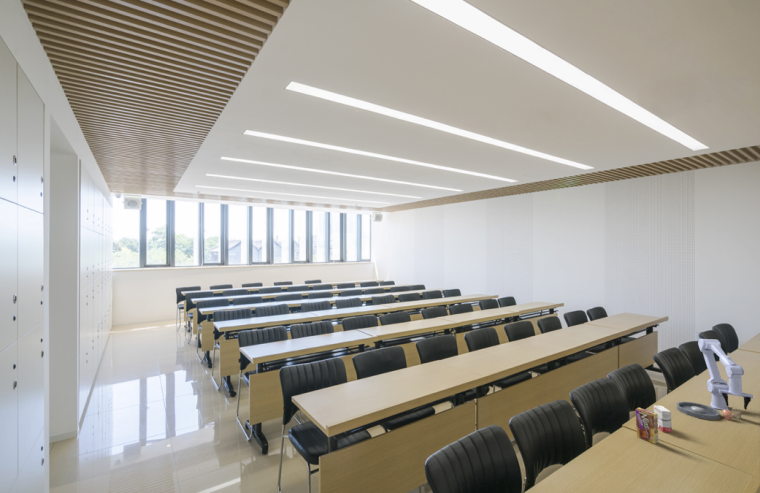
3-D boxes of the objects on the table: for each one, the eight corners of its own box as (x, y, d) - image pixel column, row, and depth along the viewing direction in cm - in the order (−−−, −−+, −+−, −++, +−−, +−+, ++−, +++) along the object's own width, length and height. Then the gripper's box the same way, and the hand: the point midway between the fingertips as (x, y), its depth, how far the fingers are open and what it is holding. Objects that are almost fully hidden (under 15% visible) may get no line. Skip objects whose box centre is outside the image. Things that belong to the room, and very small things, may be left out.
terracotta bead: (722, 416, 212) (722, 408, 212) (731, 418, 210) (731, 410, 210) (723, 419, 209) (723, 411, 209) (733, 421, 206) (732, 412, 207)
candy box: (659, 442, 184) (658, 413, 184) (654, 444, 182) (653, 415, 183) (640, 434, 192) (639, 407, 192) (636, 436, 190) (635, 408, 191)
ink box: (672, 432, 194) (671, 411, 194) (662, 432, 195) (661, 411, 195) (663, 425, 202) (662, 405, 202) (653, 424, 203) (653, 404, 203)
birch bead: (731, 416, 213) (731, 407, 213) (740, 417, 211) (740, 409, 211) (732, 418, 210) (732, 410, 210) (742, 420, 208) (741, 411, 208)
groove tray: (676, 403, 232) (676, 399, 233) (717, 411, 220) (716, 407, 220) (677, 413, 217) (677, 409, 217) (722, 422, 204) (721, 418, 204)
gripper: (719, 384, 212) (720, 406, 212) (753, 389, 203) (755, 412, 203) (718, 381, 218) (719, 402, 217) (751, 386, 209) (752, 408, 208)
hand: (736, 407), depth 210 cm, fingers open, 7 cm apart
